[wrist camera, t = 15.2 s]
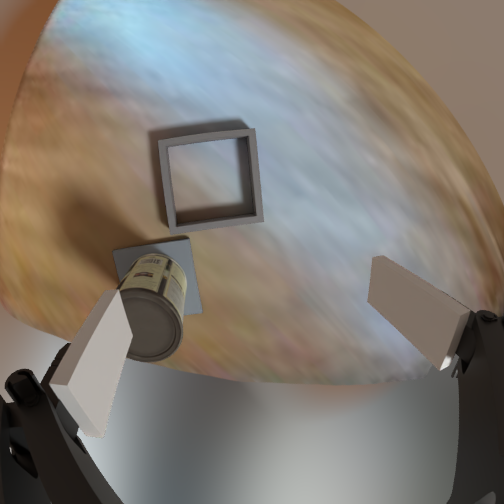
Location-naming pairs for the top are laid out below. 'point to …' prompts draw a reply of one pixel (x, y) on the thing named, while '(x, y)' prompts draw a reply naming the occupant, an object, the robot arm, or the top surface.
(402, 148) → the top surface
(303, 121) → the top surface
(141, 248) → the slate mat
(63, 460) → the robot arm
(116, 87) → the top surface
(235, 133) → the collar
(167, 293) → the coffee can
